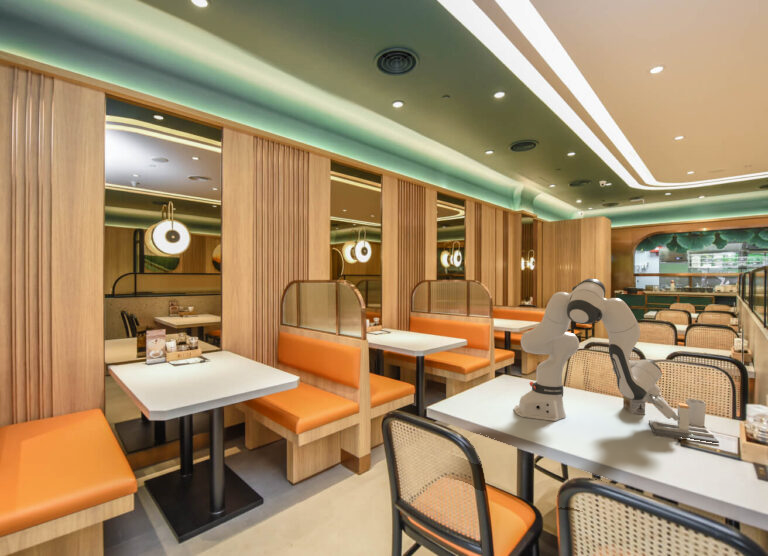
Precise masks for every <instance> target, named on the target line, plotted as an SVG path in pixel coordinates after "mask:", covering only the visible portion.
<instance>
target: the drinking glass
mask: <svg viewBox="0 0 768 556" xmlns="http://www.w3.org/2000/svg"><path fill="white" fill-rule="evenodd" d="M685 404H687V405H688V406H689V425H690V426H691V425H692V426H694V427H705V421H706V408H707V407H706V405H707V404H706V402H705V401H703V400H701V399H695V398H686V400H685Z"/></svg>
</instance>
